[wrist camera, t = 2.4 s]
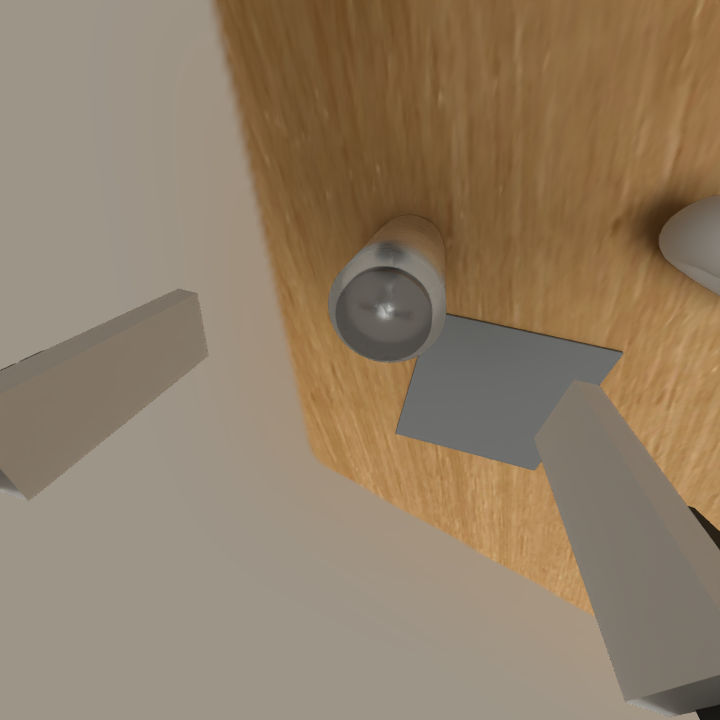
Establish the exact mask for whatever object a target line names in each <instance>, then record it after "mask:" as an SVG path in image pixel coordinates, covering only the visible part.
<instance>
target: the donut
mask: <svg viewBox="0 0 720 720" xmlns="http://www.w3.org/2000/svg"><path fill="white" fill-rule="evenodd" d="M659 247H660V249H661V252H662V254H663V256H664V257H665V259H666V260H668V261H669V262H670V263H671V264H672V265H673V266H675V267H676V268H677V269H678V270H680V271H681V272H683V273H684V274H685V275H687V276H688V277H690V278H691V279H693V280H694V281H696V282H697V283H699V284H701V285H702V286H704V287H705V288H707V289H709V290H710V291H712V292H714V293H715V294H717V295H719V296H720V195H716V196H712V197H707V198H703V199H701V200H699V201H697V202H694V203H692V204H690V205H688V206H687V207H685V208H683V209H682V210H680V211H679V212H678V213H676V214H675V215H674V216H672V217H671V218H670V219H669V220H668V221H667V223H666V224H665V225H664V226H663V228H662V230H661V233H660V235H659Z"/></svg>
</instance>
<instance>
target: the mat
mask: <svg viewBox="0 0 720 720" xmlns="http://www.w3.org/2000/svg"><path fill="white" fill-rule="evenodd" d="M622 355H623V352H622V351H617V350H613V349H608V348H603V347H599V346H594V345H589V344H585V343H580V342H576V341H571V340H566V339H562V338H557V337H553V336H548V335H543V334H539V333H534V332H529V331H525V330H520V329H516V328H511V327H506V326H502V325H497V324H493V323H488V322H483V321H479V320H474V319H469V318H465V317H460V316H456V315H451V314H446V319H445V323H444V327H443V329H442V331H441V333H440V335H439V337H438V339H437V340H436V341H435V342H434V344H433V345H432V346H431V347H430V348H429V349H428V350H426V351H425V352H423V353H422V354H420V355H418V358H417V362H416V365H415V369H414V372H413V375H412V379H411V382H410V385H409V389H408V392H407V396H406V399H405V402H404V406H403V409H402V413H401V416H400V419H399V423H398V426H397V430H396V434H399V435H403V436H406V437H410V438H414V439H418V440H421V441H425V442H429V443H433V444H437V445H440V446H444V447H448V448H452V449H455V450H459V451H463V452H467V453H470V454H474V455H478V456H482V457H485V458H489V459H493V460H497V461H501V462H504V463H508V464H512V465H516V466H519V467H523V468H527V469H531V470H535V469H536V468H537V466H538V465H539V464H540V463H541V461H542V460H541V457H540V454H539V452H538V449H537V446H536V443H535V440H534V437H535V436H536V434H537V433H538V431H539V430H540V428H541V427H542V426H543V424H544V423H545V421H546V420H547V418H548V417H549V415H550V414H551V412H552V411H553V409H554V408H555V406H556V405H557V403H558V402H559V401H560V399H561V398H562V396H563V395H564V393H565V392H566V390H567V389H568V387H569V386H570V384H571V383H572V381H573V380H578V381H582V382H587V383H591V384H595V385H600V384H601V382H602V381H603V380H604V378H605V377H606V376H607V374H608V373H609V372H610V371H611V369H612V368H613V367H614V365H615V364H616V363H617V361H618V360H619V359H620V357H621V356H622Z"/></svg>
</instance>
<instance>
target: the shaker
mask: <svg viewBox="0 0 720 720" xmlns="http://www.w3.org/2000/svg"><path fill="white" fill-rule="evenodd" d="M328 308H329V315H330V319H331V322H332V325H333V327H334V329H335V331H336V333H337V334H338V336H339V337H340V339H341V340H342V341H343V342H344V343H345V344H346V345H347V346H348V347H349V348H350V349H352V350H353V351H354V352H356V353H358V354H359V355H361V356H363V357H366V358H368V359H371V360H374V361H379V362H388V363H391V362H401V361H406V360H409V359H412V358H414V357H417V356H418V355H420V354H422V353H423V352H425V351H426V350H428V349H429V348H430V347H431V346H432V345H433V344H434V342H435V341H436V340H437V339H438V337H439V335H440V333H441V331H442V329H443V327H444V323H445V319H446V284H445V250H444V242H443V239H442V236H441V234H440V232H439V231H438V229H437V228H436V227H435V226H434V225H433V224H432V223H431V222H430V221H428V220H426V219H425V218H422V217H419V216H415V215H403V216H399V217H396V218H394V219H392V220H390V221H388V222H387V223H386V224H385V225H383V226H382V227H381V228H380V230H379V231H378V232H377V233H376V234H375V235H374V236H373V237H372V238H371V239H370V240H369V241H368V242H367V243H366V245H365V246H364V247H363V248H362V249H361V250H360V251H359V252H358V253H357V254H356V255H355V256H354V257H353V258H352V260H351V261H350V262H349V263H348V264H347V265H346V266H345V267H344V268H343V269H342V270H341V272H340V273H339V274H338V275H337V277H336V279H335V280H334V282H333V284H332V287H331V290H330V293H329V300H328Z"/></svg>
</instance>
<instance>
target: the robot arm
mask: <svg viewBox="0 0 720 720" xmlns="http://www.w3.org/2000/svg"><path fill="white" fill-rule="evenodd" d="M206 357H208V350H207V344H206V338H205V333H204V327H203V322H202V316H201V310H200V305H199V300H198V294H197V293H195V292H191V291H186V290H182V289H177V290H175V291H172V292H170V293H168V294H166V295H164V296H162V297H159V298H157V299H155V300H153V301H151V302H149V303H147V304H144V305H142V306H140V307H138V308H136V309H133V310H131V311H129V312H127V313H125V314H123V315H120V316H118V317H116V318H114V319H112V320H110V321H108V322H105V323H103V324H101V325H99V326H96V327H94V328H92V329H90V330H88V331H86V332H83V333H81V334H79V335H77V336H75V337H73V338H71V339H68V340H66V341H64V342H62V343H60V344H58V345H56V346H53V347H51V348H49V349H47V350H44V351H41V352H39V353H36V354H34V355H32V356H30V357H28V358H25V359H23V360H21V361H20V362H18V363H16V364H12V365H10V366H8V367H6V368H4V369H2V370H1V371H0V491H1V492H2V493H5V494H8V495H12V496H14V497H17V498H21V499H23V500H26V501H29V500H31V499H32V498H33V497H34V496H36V495H37V494H38V493H39V492H41V491H42V490H43V489H44V488H46V487H47V486H48V485H49V484H51V483H52V482H53V481H54V480H55V479H57V478H58V477H59V476H60V475H62V474H63V473H64V472H65V471H67V470H68V469H69V468H70V467H72V466H73V465H74V464H75V463H77V462H78V461H79V460H80V459H81V458H83V457H84V456H85V455H86V454H88V453H89V452H90V451H91V450H93V449H94V448H95V447H96V446H97V445H99V444H100V443H101V442H102V441H104V440H105V439H106V438H107V437H109V436H110V435H111V434H112V433H114V432H115V431H116V430H117V429H118V428H120V427H121V426H122V425H124V424H125V423H126V422H127V421H128V420H130V419H131V418H132V417H133V416H134V415H135V414H137V413H138V412H139V411H141V410H142V409H143V408H144V407H146V406H147V405H148V404H149V403H151V402H152V401H153V400H154V399H156V398H157V397H158V396H159V395H160V394H162V393H163V392H164V391H165V390H167V389H168V388H169V387H170V386H172V385H173V384H174V383H175V382H177V381H178V380H179V379H180V378H181V377H183V376H184V375H185V374H186V373H188V372H189V371H190V370H191V369H193V368H194V367H195V366H196V365H197V364H199V363H200V362H201V361H203V360H204V359H205V358H206ZM534 440H535V443H536V446H537V449H538V452H539V454H540V457H541V460H542V463H543V466H544V469H545V472H546V475H547V478H548V480H549V483H550V486H551V489H552V492H553V495H554V498H555V501H556V504H557V506H558V509H559V512H560V515H561V518H562V521H563V524H564V527H565V530H566V532H567V535H568V538H569V541H570V544H571V547H572V550H573V553H574V556H575V558H576V561H577V564H578V567H579V570H580V573H581V576H582V579H583V582H584V584H585V587H586V590H587V593H588V596H589V599H590V602H591V605H592V608H593V610H594V613H595V616H596V619H597V622H598V625H599V628H600V631H601V633H602V636H603V639H604V642H605V645H606V648H607V651H608V654H609V657H610V660H611V662H612V665H613V668H614V671H615V674H616V677H617V679H618V683H619V686H620V688H621V691H622V694H623V697H624V700H625V702H626V703H629V704H632V705H635V706H639V707H641V708H644V709H647V710H650V711H653V712H656V713H659V714H662V715H665V716H668V717H672V716H677V715H682V714H686V713H691V712H695V711H696V712H697V714H698V717H699V719H700V720H720V531H719V530H718V529H717V528H715V527H714V526H713V525H712V524H711V523H710V522H709V521H708V520H707V519H706V518H705V517H704V516H702V515H701V514H700V513H699V512H698V511H697V510H696V509H695V508H693V507H690V506H687V505H686V503H685V502H684V501H683V499H682V498H681V497H680V495H679V494H678V492H677V491H676V490H675V488H674V487H673V486H672V484H671V483H670V482H669V480H668V479H667V477H666V476H665V475H664V473H663V472H662V471H661V469H660V468H659V466H658V465H657V464H656V462H655V461H654V460H653V458H652V457H651V456H650V454H649V453H648V451H647V450H646V449H645V447H644V446H643V445H642V443H641V442H640V440H639V439H638V438H637V436H636V435H635V434H634V432H633V431H632V430H631V428H630V427H629V425H628V424H627V423H626V421H625V420H624V419H623V417H622V416H621V414H620V413H619V412H618V410H617V409H616V408H615V406H614V405H613V404H612V402H611V401H610V399H609V398H608V397H607V395H606V394H605V393H604V391H603V390H602V388H601V387H600V386H599V385H595V384H591V383H587V382H582V381H578V380H573V381H572V383H571V384H570V386H569V387H568V389H567V390H566V392H565V393H564V395H563V396H562V398H561V399H560V401H559V402H558V403H557V405H556V406H555V408H554V409H553V411H552V412H551V414H550V415H549V417H548V418H547V420H546V421H545V423H544V424H543V426H542V427H541V428H540V430H539V431H538V433H537V434H536V436H535V437H534Z"/></svg>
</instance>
